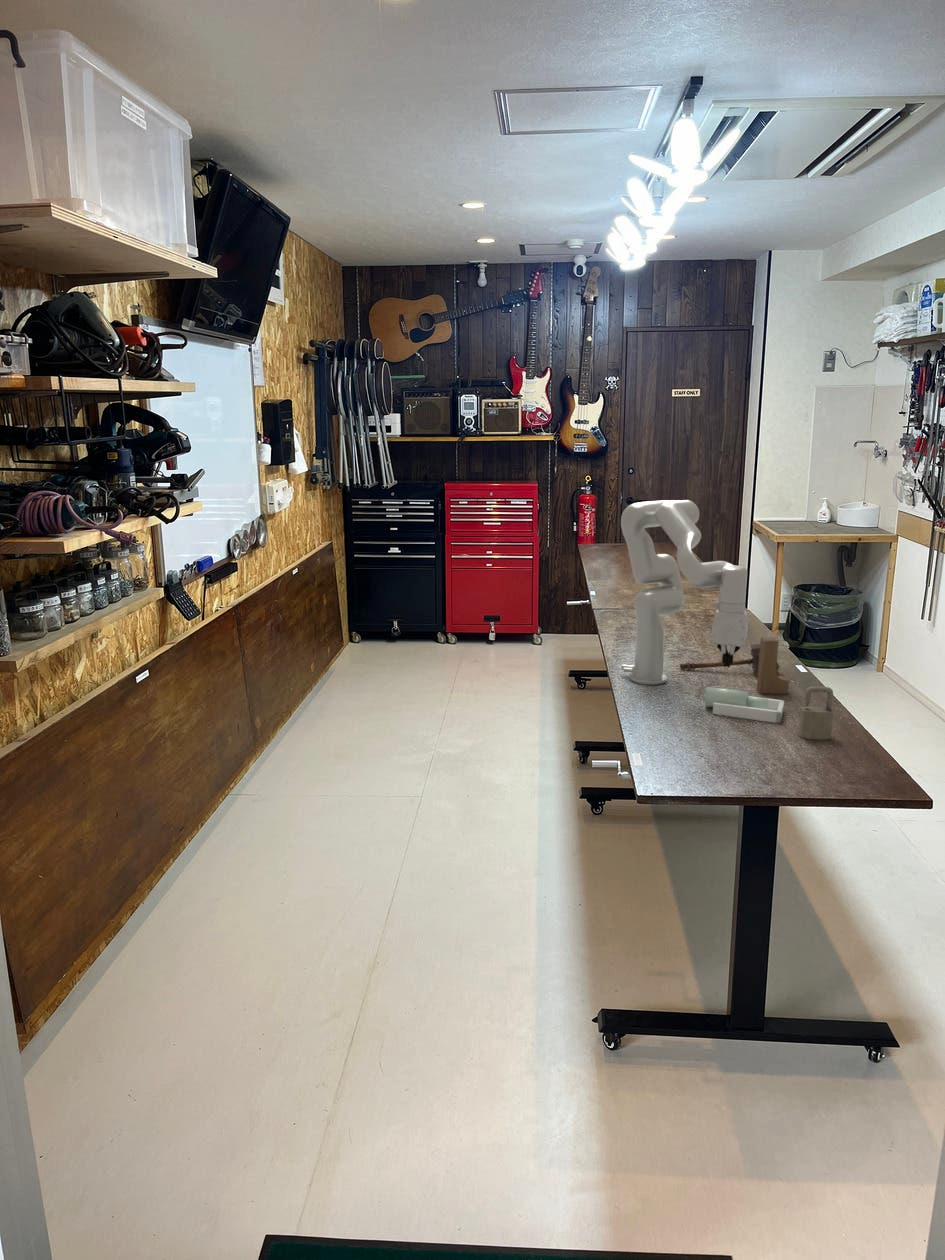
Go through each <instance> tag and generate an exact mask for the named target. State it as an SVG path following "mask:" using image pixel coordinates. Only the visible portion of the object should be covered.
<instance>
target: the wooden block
mask: <svg viewBox="0 0 945 1260" xmlns="http://www.w3.org/2000/svg"><path fill="white" fill-rule="evenodd" d="M759 644H760V654H759V666H758V677H756V678H757V679H756V680H757V682H756V690H757V692H758V693H760V694H761V695H786V694H787V695H788V694H789V693H788V692H789V687H790V686H789V685H790V683H789V682H790V680H788V679H787V677H785V676H782V675H778V674H777V672H776V665H777V663H778V655H779V654H778V652H779V644H780V643H779V640H778V639H777V638H776V637H774V636H773V637H772V636H765V637H763V636H762V637H760V642H759Z"/></svg>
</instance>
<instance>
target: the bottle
mask: <svg viewBox="0 0 945 1260" xmlns="http://www.w3.org/2000/svg"><path fill="white" fill-rule="evenodd" d="M748 696H749V692H748V691H747V690H745V691H744V690H739V689H729V688H720V687H712V686H706V690H705V696H704V706H705V707H710V708H713V704H714V703H722V704H730V705H737V706H745V707H747V706H748V707H756V708H764V709H767V703H768V699H769V698H768V699H764V698H765V697H760V698H756V697H757V696H752V697H748Z"/></svg>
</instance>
